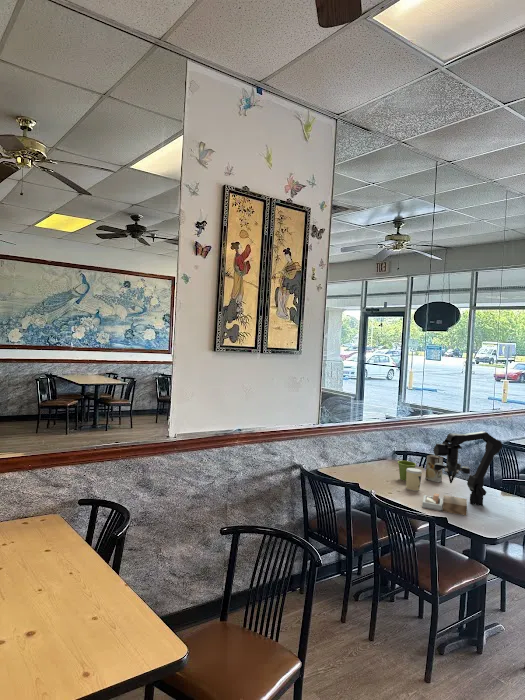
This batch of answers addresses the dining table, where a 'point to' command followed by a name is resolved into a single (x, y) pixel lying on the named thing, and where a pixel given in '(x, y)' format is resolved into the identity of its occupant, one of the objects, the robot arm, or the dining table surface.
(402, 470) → the plant pot
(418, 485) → the coffee cup
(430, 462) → the coffee box
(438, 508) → the bin
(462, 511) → the brown cream box
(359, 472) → the dining table surface
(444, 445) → the robot arm
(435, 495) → the terracotta tile
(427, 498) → the cream tile
